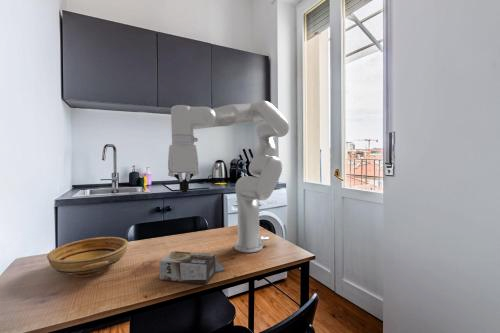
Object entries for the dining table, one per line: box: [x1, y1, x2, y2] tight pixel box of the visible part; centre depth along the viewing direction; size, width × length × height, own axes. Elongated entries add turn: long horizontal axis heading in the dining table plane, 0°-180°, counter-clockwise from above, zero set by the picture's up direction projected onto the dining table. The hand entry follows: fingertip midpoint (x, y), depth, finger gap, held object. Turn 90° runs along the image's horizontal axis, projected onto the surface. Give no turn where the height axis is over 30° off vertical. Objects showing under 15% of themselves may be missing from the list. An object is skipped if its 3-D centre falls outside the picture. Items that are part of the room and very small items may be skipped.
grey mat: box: [171, 257, 225, 282], centre depth 90 cm, size 18×14×1 cm
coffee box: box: [159, 250, 216, 285], centre depth 83 cm, size 9×6×16 cm
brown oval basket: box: [46, 236, 129, 278], centre depth 89 cm, size 30×24×8 cm
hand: (184, 192), depth 89 cm, fingers closed
